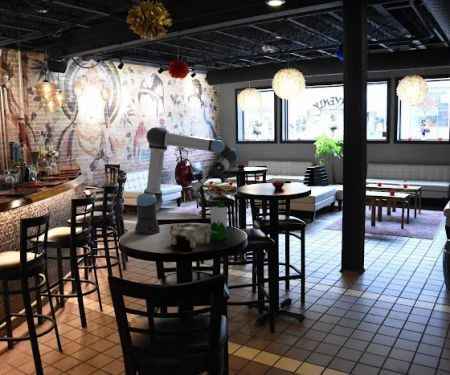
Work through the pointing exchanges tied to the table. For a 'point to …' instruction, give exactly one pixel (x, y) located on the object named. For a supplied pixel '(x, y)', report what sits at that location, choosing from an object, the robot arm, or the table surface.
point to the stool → (190, 233)
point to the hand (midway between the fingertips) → (197, 185)
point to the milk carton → (218, 221)
